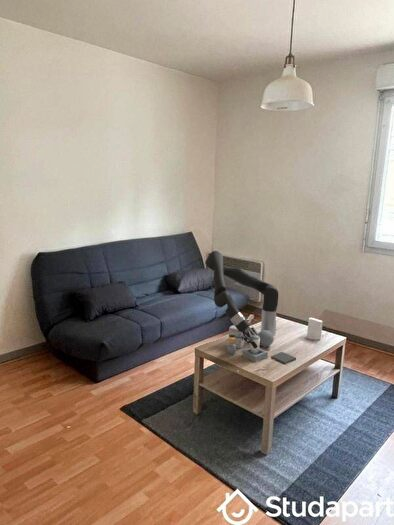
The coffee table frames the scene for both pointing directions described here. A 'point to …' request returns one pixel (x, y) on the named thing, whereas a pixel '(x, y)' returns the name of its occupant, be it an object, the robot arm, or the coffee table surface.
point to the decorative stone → (265, 338)
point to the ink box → (236, 336)
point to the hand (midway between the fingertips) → (258, 345)
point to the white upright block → (314, 328)
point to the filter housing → (247, 353)
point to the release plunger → (232, 340)
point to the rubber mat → (283, 357)
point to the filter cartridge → (257, 341)
